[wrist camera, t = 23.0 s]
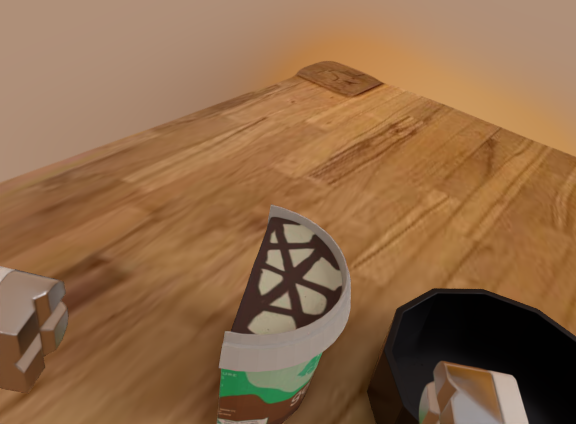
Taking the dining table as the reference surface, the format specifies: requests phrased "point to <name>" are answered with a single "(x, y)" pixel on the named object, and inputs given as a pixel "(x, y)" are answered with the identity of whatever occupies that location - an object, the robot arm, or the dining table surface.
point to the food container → (283, 321)
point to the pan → (475, 353)
